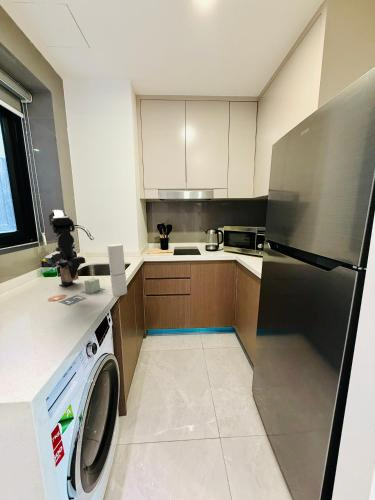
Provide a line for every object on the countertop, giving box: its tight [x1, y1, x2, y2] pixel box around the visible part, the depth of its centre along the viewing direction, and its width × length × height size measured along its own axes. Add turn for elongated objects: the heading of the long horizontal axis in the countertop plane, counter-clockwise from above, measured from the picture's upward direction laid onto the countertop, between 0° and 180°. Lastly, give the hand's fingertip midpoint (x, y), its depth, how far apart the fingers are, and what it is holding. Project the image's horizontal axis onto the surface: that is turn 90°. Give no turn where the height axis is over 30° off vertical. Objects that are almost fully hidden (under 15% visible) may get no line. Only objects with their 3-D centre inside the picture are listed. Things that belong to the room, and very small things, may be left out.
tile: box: [58, 294, 88, 306], centre depth 97 cm, size 9×9×1 cm
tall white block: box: [107, 243, 128, 297], centre depth 101 cm, size 7×7×25 cm
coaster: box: [47, 294, 68, 302], centre depth 100 cm, size 8×8×1 cm
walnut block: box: [60, 267, 79, 282], centre depth 94 cm, size 5×5×6 cm
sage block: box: [83, 277, 101, 293], centre depth 107 cm, size 5×5×6 cm
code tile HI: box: [80, 287, 106, 296], centre depth 108 cm, size 9×9×1 cm
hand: (69, 277), depth 95 cm, fingers closed on walnut block, 5 cm apart
